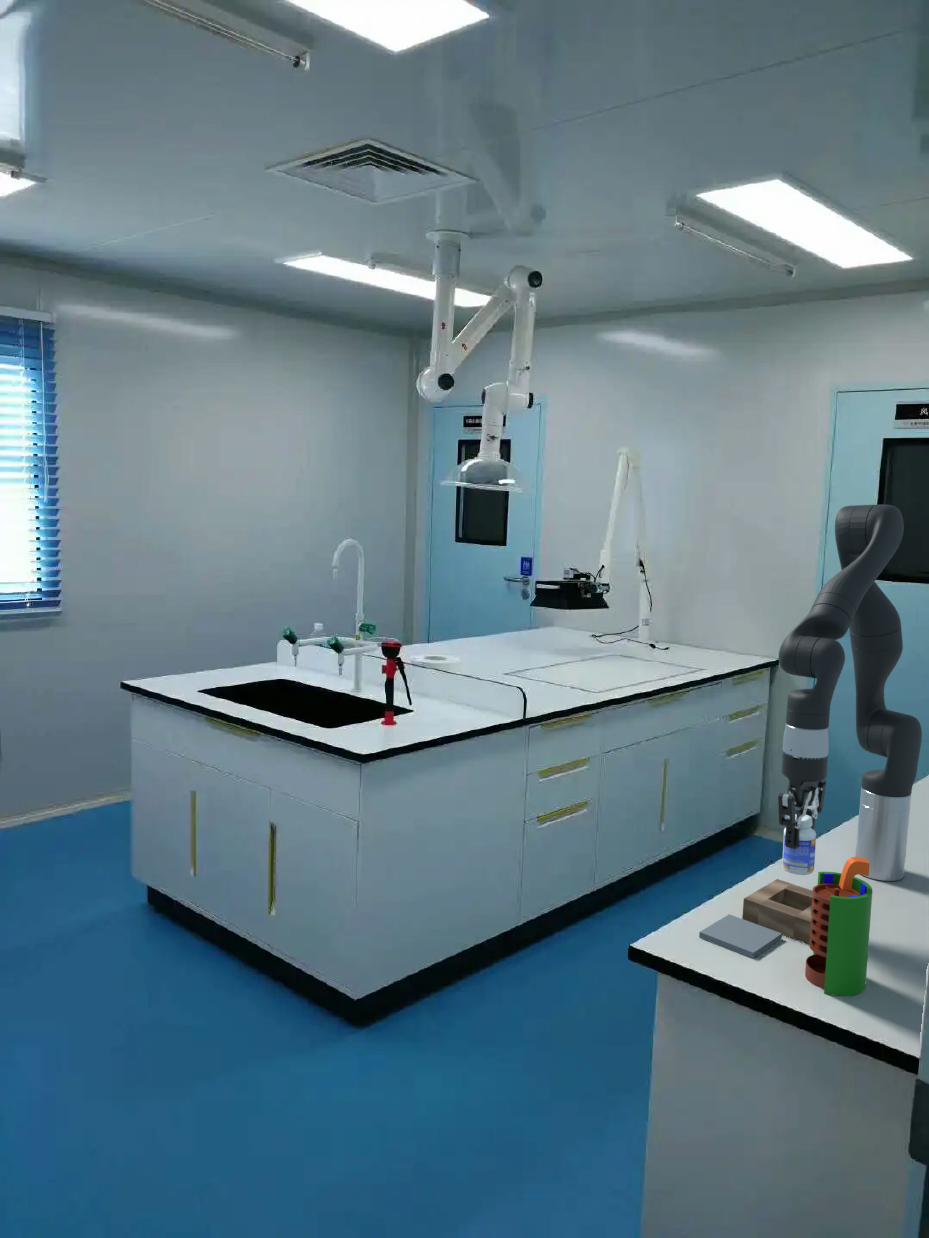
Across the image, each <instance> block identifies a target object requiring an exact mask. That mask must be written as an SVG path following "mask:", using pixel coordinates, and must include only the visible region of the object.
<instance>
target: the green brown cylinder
mask: <svg viewBox="0 0 929 1238" xmlns="http://www.w3.org/2000/svg"><path fill="white" fill-rule="evenodd" d="M817 873H818V874H817V884H816V885H815V886H813V887H812V890H813V891H812V895H813V896H814V897H813V898H812V906H813V908H812V909H811V916H812V918H811V923H810V925H811V929H810V937H811V938H810V940H809V944H808V945H809V946H808V947H809V949H810V950H811V951H812V954H811V955H809V956H807V958H806V959H805V966H804V967H805V969H804V970H805V971H804V975H805V978H806V980H807V981H808V982H809V983H810V984H812V985H813V986H815V987H817V988H820V989H822V990H823V993H824V994H827V995H829V996H830V995H831V996H836V997H837V996H838V997H849V996H850V997H851V996H855V995H858V994H861V993H862V992H863V991H864V990H865V989H866V983H867V969H868V958H869V957H868V956H869V944H870V943H869V941H870V932H871V931H870V929H871V928H870V927H871V916H872V905H873V904H872V902H873V888H872V886H871V885H870V884H869V883H868V882H867V881H865V880H863V879H861V878H858V877H856V876H857V875H861V876H863V875H866V876H869V862H868V861H867V860H866V859H865V858H859V857H855V856H852V857H849V858H848V859H847V860H846V861H845V863H844V865H843V868H842V871H841V872H836V871H835V872H834V871H818V872H817ZM866 876H865V877H866Z"/></svg>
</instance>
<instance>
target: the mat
mask: <svg viewBox="0 0 929 1238" xmlns="http://www.w3.org/2000/svg"><path fill="white" fill-rule="evenodd" d="M698 935H699V936H698V937H699V939H702V940H705V941H707V942H710V943H713V944H715V945H718V946H719V947H720V946H721V947H723V948H725V949H727V950H731V951H733V952H736V953H738V954H740V955H744V956H746V957H749V958H751V959H754V958H757V956H759V955H760V954H761V953H763V952H765V951H766V950H768V949H769V948H770V946H771V947H772V946H773V945H775V944H776V943H778V942H779V941H781V940H782V939H781V938H782V937H783V936H782V933H779V932H777V931H774V930H771V929H768V928H766V927H763V926H760V925H757V924H755V923H752V922H749V921H746V920H744V919H742V917H738V916H736V915H733V914H731V913H730V914H727V915H726V916H724V917H722V918H721V919H719V920H717V921H716V922H714V923H712V924H710V925H709V926H707V927H706V928H704V929H702V930H701V931H699V933H698ZM780 939H781V940H780Z"/></svg>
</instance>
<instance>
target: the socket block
mask: <svg viewBox="0 0 929 1238" xmlns="http://www.w3.org/2000/svg"><path fill="white" fill-rule="evenodd" d="M812 891H813V889H809V888H806V887H803V886H800V885H797V884H793V883H791V882H789V881H784V880H782V879H778V878H776V879H775V880H773V881H771V882H768V884H766V885H763V886H762V887H760V888H759V889H758V890H756V891H755V892H752V893H750V894H749V895H747V896H746V897H744V898H743V905H742V915H741V916H742V917H741V919H744V920H746V921H749V922H752V923H755V924H757V925H760V926H763V927H766V928H768V929H771V930H774V931H777V932H779V933H782V934H784V935H783V936H785V937H788V938H792V939H793V938H795V939H794V940H796V939H797V940H796V941H800V942H801V943H805V944H808V945H809V940H810V938H811V937H810V929H811V925H810V923H811V918H812V916H811V909H812V908H813V906H812V898H813V897H814V896H813V895H812Z"/></svg>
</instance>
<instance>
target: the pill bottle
mask: <svg viewBox="0 0 929 1238" xmlns="http://www.w3.org/2000/svg"><path fill="white" fill-rule="evenodd" d="M796 817H797V815H796V814H795V819H796ZM811 827H812V817H811V816H809V815H805V816H803V817H802V819H801V824H800V827H799V828H800V834H799V847H798V848H797V849H792V848H789V847H786V846H785V834H786V827H784V829H783V842H782V843H783V845H782V862H781V863H782V864H781V865H782V870H784V871H785V872H788V873H790V874H793V875H799V876H808V875H812V874H813V873H814V872H815V863H816V862H815V861H816V846H817V845H816V841H817V833H816V830H815V829H814V830H813V829H812V828H811Z"/></svg>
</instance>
